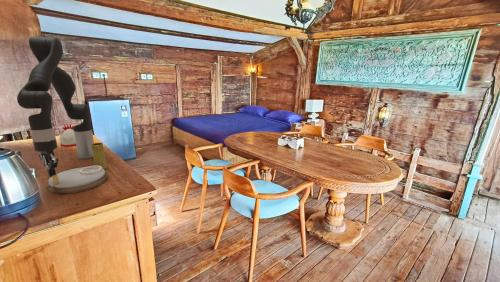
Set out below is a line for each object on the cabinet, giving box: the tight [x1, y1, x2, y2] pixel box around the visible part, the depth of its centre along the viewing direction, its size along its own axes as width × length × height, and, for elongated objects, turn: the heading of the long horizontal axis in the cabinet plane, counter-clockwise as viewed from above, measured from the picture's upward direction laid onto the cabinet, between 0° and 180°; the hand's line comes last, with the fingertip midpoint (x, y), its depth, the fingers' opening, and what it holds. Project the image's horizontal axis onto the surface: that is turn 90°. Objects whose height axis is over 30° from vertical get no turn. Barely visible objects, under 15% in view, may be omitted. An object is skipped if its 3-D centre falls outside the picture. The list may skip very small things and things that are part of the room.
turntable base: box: [45, 170, 109, 195], centre depth 113 cm, size 24×24×3 cm
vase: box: [92, 142, 108, 170], centre depth 129 cm, size 6×6×14 cm
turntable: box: [47, 165, 106, 189], centre depth 112 cm, size 22×22×6 cm
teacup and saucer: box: [56, 134, 62, 142], centre depth 186 cm, size 9×8×4 cm
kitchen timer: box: [59, 124, 77, 148], centre depth 172 cm, size 14×14×15 cm
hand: (52, 176), depth 104 cm, fingers closed
